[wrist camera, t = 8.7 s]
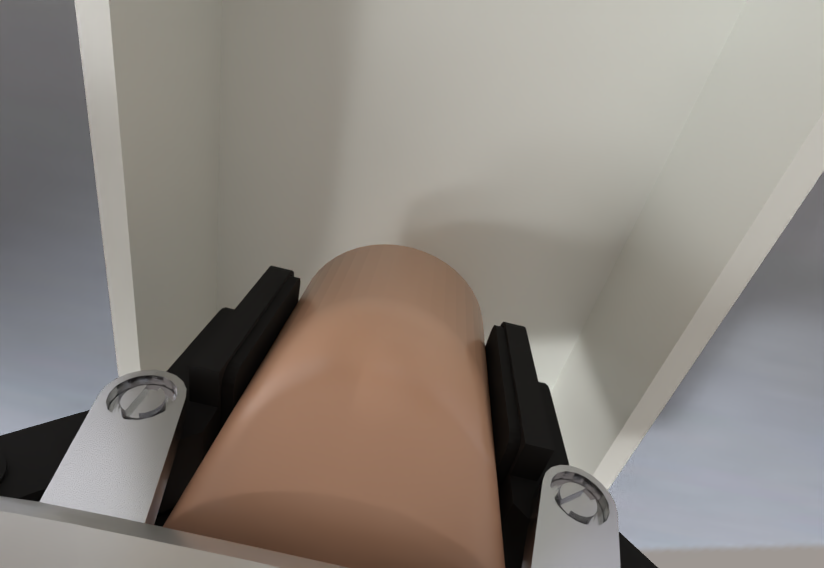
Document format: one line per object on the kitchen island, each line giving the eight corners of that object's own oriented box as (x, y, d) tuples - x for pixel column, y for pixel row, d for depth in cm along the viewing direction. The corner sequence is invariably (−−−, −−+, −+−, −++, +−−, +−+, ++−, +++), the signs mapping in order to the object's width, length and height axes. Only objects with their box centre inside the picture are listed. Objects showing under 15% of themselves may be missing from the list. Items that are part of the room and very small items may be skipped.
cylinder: (311, 223, 11) (135, 449, 5) (508, 271, 11) (569, 548, 5) (292, 376, 14) (156, 655, 7) (454, 414, 14) (452, 718, 8)
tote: (209, 346, 18) (127, 449, 13) (216, -318, 9) (-1, -640, 5) (540, 424, 18) (567, 549, 14) (830, -146, 10) (1141, -299, 5)
